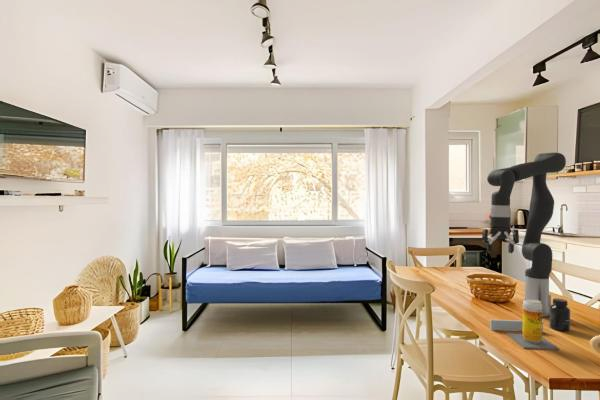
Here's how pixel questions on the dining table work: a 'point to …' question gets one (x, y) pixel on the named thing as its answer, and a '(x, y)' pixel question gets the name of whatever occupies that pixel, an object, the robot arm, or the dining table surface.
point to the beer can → (532, 320)
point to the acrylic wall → (507, 325)
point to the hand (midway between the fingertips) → (500, 252)
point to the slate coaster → (528, 345)
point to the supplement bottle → (559, 315)
